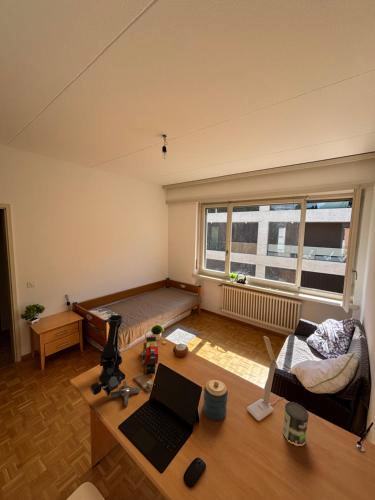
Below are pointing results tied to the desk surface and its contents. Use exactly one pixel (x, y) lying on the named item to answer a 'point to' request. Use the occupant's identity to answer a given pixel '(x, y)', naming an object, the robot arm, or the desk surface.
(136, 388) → the capstan
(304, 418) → the coffee can
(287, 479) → the desk surface
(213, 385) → the canister
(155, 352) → the toy soldier
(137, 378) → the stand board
